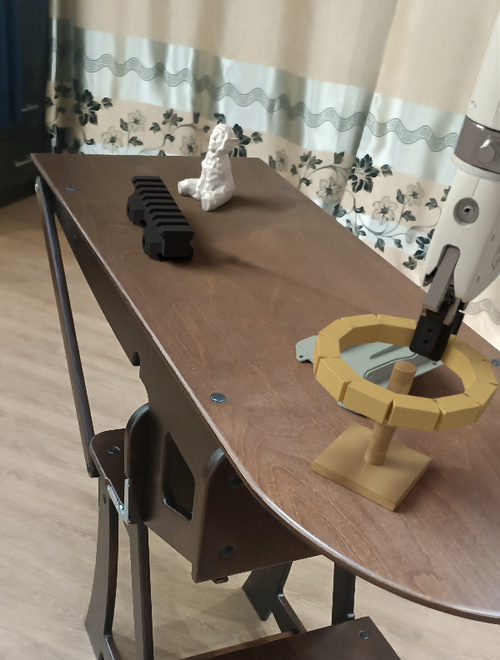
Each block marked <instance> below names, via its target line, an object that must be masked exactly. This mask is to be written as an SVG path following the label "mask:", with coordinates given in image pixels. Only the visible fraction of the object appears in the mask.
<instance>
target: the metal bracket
mask: <svg viewBox="0 0 500 660" xmlns="http://www.w3.org/2000/svg"><path fill="white" fill-rule="evenodd" d="M386 315H387V316H391V315H390V314H386ZM316 339H317V335H315V334H314V335H311V336H309V337H307V338H304V339H301V340H299V341H297V343H295V356H296V357H295V359H296V360H297V361H298V362H299V363H303V362H305V361H310V362H311V363H312V364H313V351H314V347H315V343H316ZM340 357H341V359H343V360H344V361H345V362H346V363H347V364H348V365H349V366H350V367H351V368H352V369H353V370H354V371H355V372H356V373H357V374H358V375H359V376H360V377H361V378H363V379H365V380H367V381H369V382H372V383H374V384H376V385H378V386H381V387H383V388H385V389H387V386H388V383H389V380H390V377H391V374H392V371H393V368H394V365H395V363H396V362H397V361H407V362H410V363H412V364H414V365H415V366H416V367H417V371H416V374H415V376H414V378H417V377H419V376H421V375H423V374H427V373H429V372H431V371H433V370H436V369H438V368H440V367H442V366H443V365H444V363H443V362H442V361H438V362H435V361H432V360H430V359H428V358H425V357H423V356H421V355H418V354H416V353H413V352H411V351H410V349H409V347H406V346H400V345H393V344H387V343H381V342H374V343H367V344H359V345H352V346H348V347H347V348H346V349H345V350H343V351H342V352H341V353H340ZM342 403H343V401H341V402H337V401H336V404H337V405H338V406H339V407H340V408H343V409H346V410H348V411H350V412H353V413H356V414H358V415H361V414H360V413H358V412H356V411H354V410H352V409H350V408H348V407H345V406H343V405H342Z"/></svg>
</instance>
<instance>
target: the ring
mask: <svg viewBox="0 0 500 660" xmlns="http://www.w3.org/2000/svg"><path fill="white" fill-rule="evenodd" d="M387 315H388V314H380V313H378V314H377V315H375V314H374V313H368V314H359V315H351V316H350V315H349V316H343V317H340V319H339V318H337V319H335V320H334V321H333V322H331V323H329V324H328V325H327V326H326V327H324V328H323V329H322V330H320V331H319V332H318V334H317V335H316V336H317V339H316V343H315V347H314V351H313V363H312V366H313V375H314V376H315V378H314V379H315V380H316V381H317V382H318V383H319V384H320V385H321V386H322V387H323V388H324V389H325V390H326V391H327V393H328V394H329V395H330V396H331V397H332V398H333V399H334V400H335V401H336V403H337V402H341V401H343V402H342V405H343V406H345V407H348V408H350V409H352V410H354V411H356V412H358V413H360V414H359V415H363V416H365V417H367V418H369V419H370V420H372V421H375V422H376V421H377V422H379V423H383V422H384V421H385V420H386V419H387V423H388V425H389V426H395V427H396V428H403V429H408V430H409V429H410V430H415V431H420V432H421V431H423V432H429V433H433V432H434V431H436V432H437V433H441V432H446V431H451V430H455V429H461V428H466V427H469V426H473V425H474V424H476V423H477V422H478V421H479V419H480V418H481V417H482V416H483V415H484V413H485V412H486V410H488V408H489V406H490V405H491V403H492V401H493V398H494V397H495V394H496V392H497V391H498V385H499V382H498V380H497V377H496V374H495V371H494V369H493V367H492V364H491V361H488V358H487V357H486V356H485V355H483V354H482V353H480V351H478V350H477V349H476V348H475V347H473V346H472V345H471V344H469V343H468V342H466V341H465V339H463V338H461V337H459V338H457V336H456V335H453V334H451V335H450V338H449V341H448V343H447V346H446V348H445V351H444V354H443V356H442V358H441V360H440V361H442V362H443V365H445V366H446V367H447V368H448V369H450V370H451V371H452V372H453V373H455V375H456V376H458V377H459V378H460V379H461V381H462V385H463V387H464V392H463V393H458V394H453V395H447V396H442V397H438V398H437V397H436V398H429V397H422V396H415V395H410V394H408V395H403V394H397V393H394V392H392V391H389V390H387V389H385V388H383V387H381V386H378V385H376V384H374V383H372V382H369V381H367V380H365V379H363V378H361V377H360V376H359V375H358V374H357V373H356V372H355V371H354V370H353V369H352V368H351V367H350V366H349V365H348V364H347V363H346V362H345V361H344V360H343V359H341V357H340V353H341V352H342V351H343V350H345V349H346V348H347V347H348V346H352V345H359V344H367V343H374V342H381V343H387V344H393V345H400V346H406V347H409V346H410V343H411V340H412V338H413V335H414V332H415V329H416V326H417V320H416V319H413V318H405V317H400V316H392V315H390V316H387ZM356 412H355V413H356ZM358 413H357V414H358Z"/></svg>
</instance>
